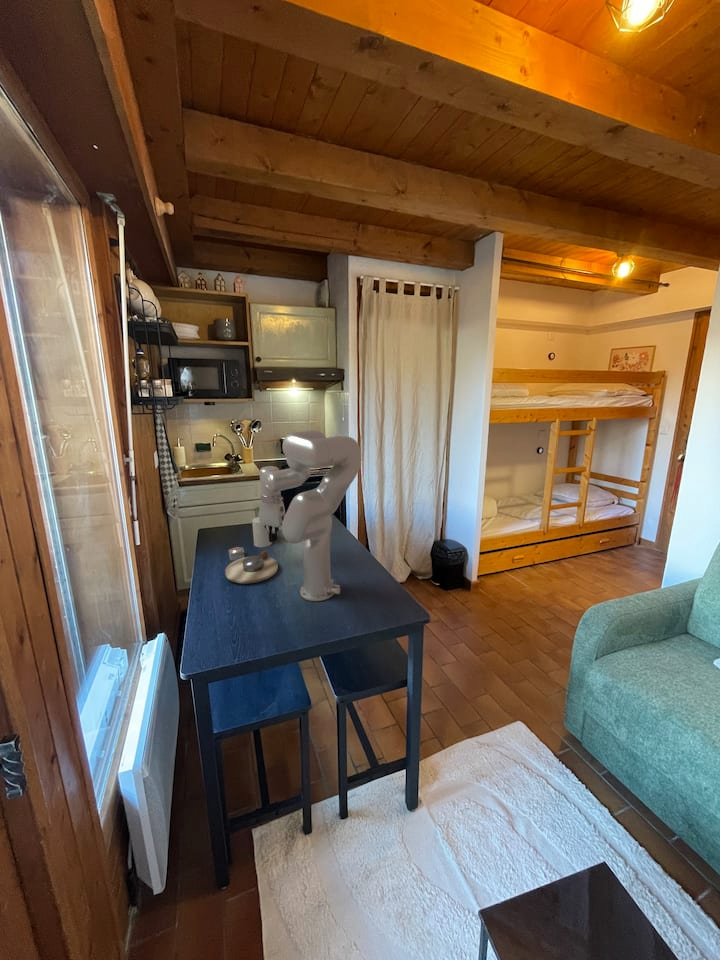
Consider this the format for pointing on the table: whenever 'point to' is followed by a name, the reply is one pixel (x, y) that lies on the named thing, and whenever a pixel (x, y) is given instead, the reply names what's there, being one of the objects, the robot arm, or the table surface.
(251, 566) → the disc
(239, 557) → the dial gauge
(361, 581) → the table surface
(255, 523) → the cup
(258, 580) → the turntable
